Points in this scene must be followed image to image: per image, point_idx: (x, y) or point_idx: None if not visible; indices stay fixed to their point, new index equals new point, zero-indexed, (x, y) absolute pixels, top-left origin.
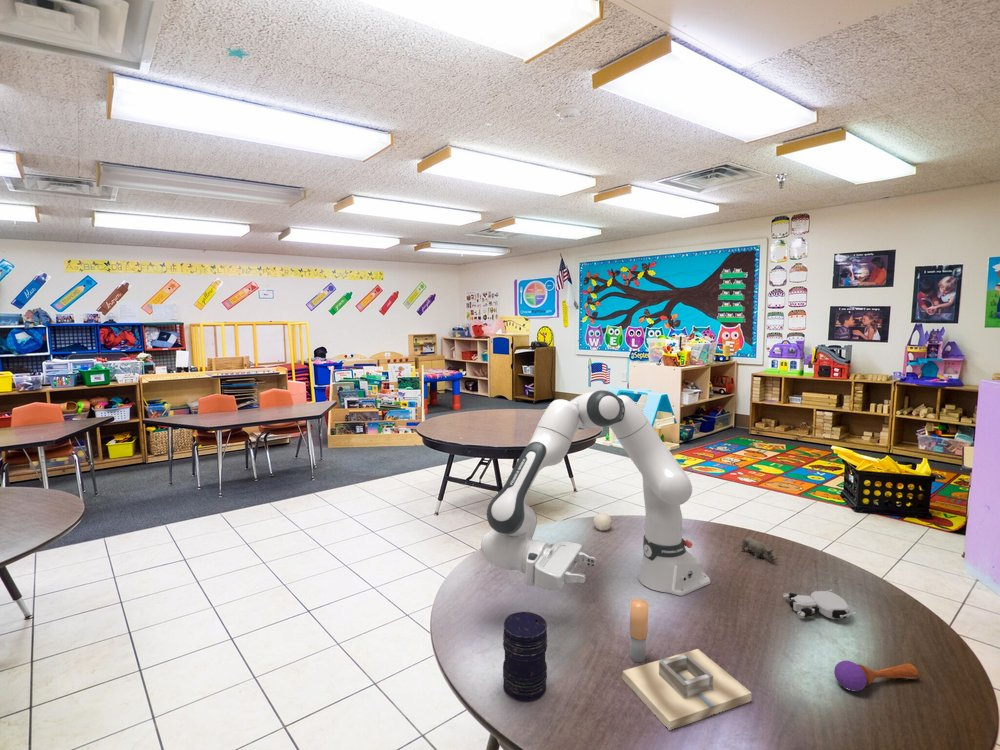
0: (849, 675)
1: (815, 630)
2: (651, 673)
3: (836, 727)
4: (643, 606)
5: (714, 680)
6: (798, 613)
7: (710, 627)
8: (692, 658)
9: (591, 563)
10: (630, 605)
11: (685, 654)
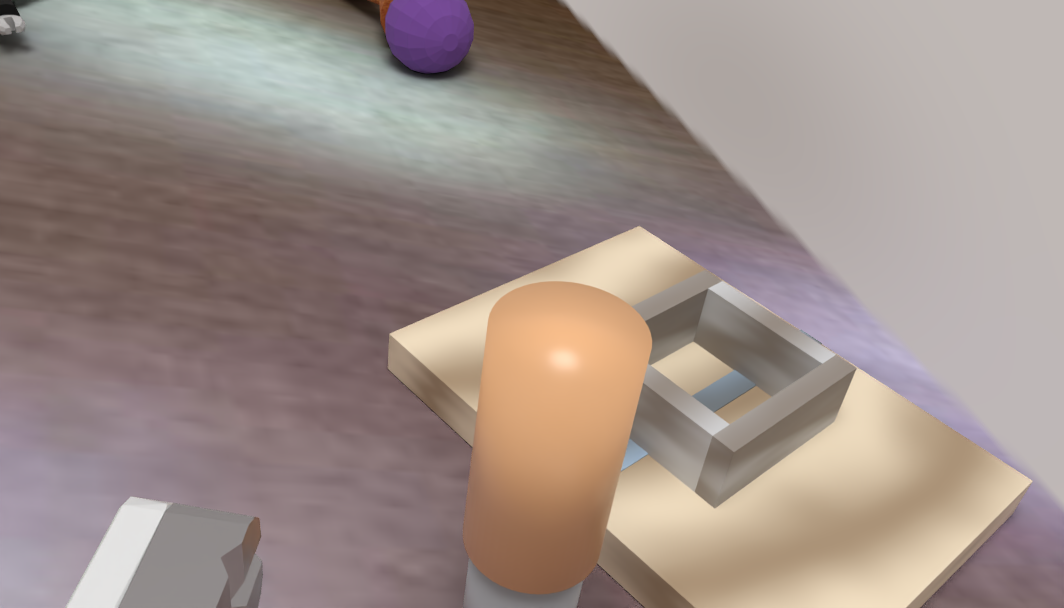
0: (465, 15)
1: (93, 43)
2: (728, 543)
3: (638, 127)
4: (606, 310)
5: None
6: (9, 27)
7: (86, 292)
8: None
9: (242, 605)
10: (585, 408)
11: None
